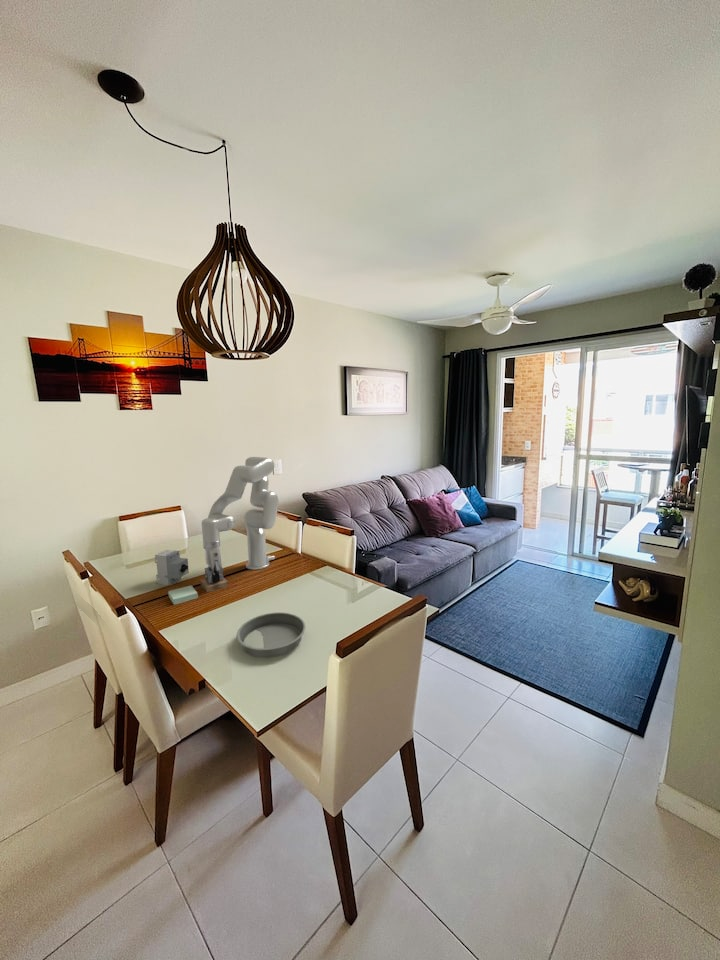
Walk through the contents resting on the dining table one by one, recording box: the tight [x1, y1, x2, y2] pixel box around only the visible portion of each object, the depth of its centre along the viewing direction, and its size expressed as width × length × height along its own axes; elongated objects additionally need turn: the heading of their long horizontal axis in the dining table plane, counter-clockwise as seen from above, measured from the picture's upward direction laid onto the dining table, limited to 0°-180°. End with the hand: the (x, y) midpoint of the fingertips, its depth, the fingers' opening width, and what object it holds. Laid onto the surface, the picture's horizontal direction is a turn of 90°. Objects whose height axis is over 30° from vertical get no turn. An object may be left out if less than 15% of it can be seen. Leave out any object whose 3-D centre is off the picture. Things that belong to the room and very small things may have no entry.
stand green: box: [168, 585, 199, 605], centre depth 172 cm, size 10×10×2 cm
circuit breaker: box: [154, 549, 190, 586], centre depth 187 cm, size 8×14×15 cm, turn 78°
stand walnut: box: [200, 576, 229, 593], centre depth 184 cm, size 10×10×2 cm
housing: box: [204, 566, 224, 584], centre depth 183 cm, size 7×5×7 cm
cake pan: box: [236, 612, 306, 659], centre depth 140 cm, size 25×25×4 cm
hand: (214, 579), depth 184 cm, fingers closed on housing, 5 cm apart
